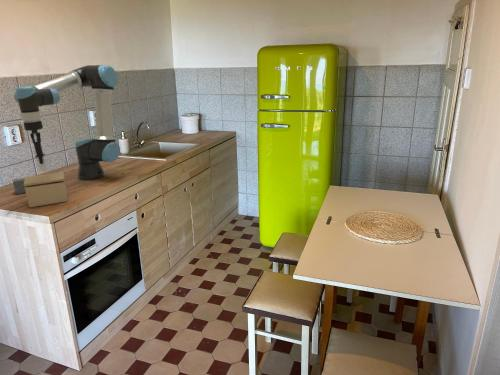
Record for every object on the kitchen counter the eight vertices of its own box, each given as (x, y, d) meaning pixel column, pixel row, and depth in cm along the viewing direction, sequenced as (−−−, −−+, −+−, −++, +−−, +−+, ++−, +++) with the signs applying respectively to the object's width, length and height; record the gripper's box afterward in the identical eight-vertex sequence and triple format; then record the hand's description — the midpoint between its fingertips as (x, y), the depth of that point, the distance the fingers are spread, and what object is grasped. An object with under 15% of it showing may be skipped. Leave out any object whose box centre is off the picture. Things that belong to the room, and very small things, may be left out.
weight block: (33, 189, 208) (30, 177, 205) (32, 191, 203) (30, 179, 201) (16, 191, 204) (13, 179, 202) (15, 194, 200) (12, 181, 198)
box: (66, 191, 201) (63, 174, 198) (68, 201, 188) (64, 182, 185) (30, 197, 194) (26, 179, 191) (29, 207, 181) (24, 187, 177)
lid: (63, 173, 198) (63, 171, 198) (64, 180, 184) (64, 178, 184) (26, 178, 191) (25, 176, 191) (23, 186, 177) (23, 184, 176)
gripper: (23, 119, 178) (34, 167, 186) (22, 123, 167) (34, 174, 175) (41, 118, 181) (51, 165, 189) (41, 122, 170) (52, 171, 178)
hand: (43, 169), depth 182 cm, fingers closed
